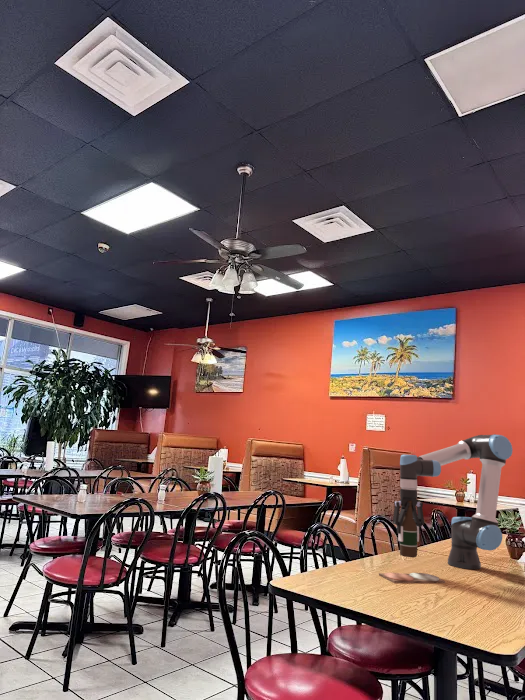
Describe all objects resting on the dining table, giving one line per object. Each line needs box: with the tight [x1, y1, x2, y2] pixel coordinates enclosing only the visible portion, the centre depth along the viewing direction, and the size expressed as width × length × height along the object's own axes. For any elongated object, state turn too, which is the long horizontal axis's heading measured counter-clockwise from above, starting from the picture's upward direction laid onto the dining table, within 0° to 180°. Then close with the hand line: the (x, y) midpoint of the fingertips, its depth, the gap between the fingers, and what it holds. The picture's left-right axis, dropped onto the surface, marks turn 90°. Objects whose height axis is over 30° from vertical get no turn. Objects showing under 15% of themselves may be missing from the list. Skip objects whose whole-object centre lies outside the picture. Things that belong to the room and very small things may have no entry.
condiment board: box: [378, 572, 446, 584], centre depth 212 cm, size 24×12×1 cm, turn 106°
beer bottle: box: [399, 501, 418, 558], centre depth 229 cm, size 8×8×24 cm
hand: (408, 541), depth 228 cm, fingers closed on beer bottle, 7 cm apart
